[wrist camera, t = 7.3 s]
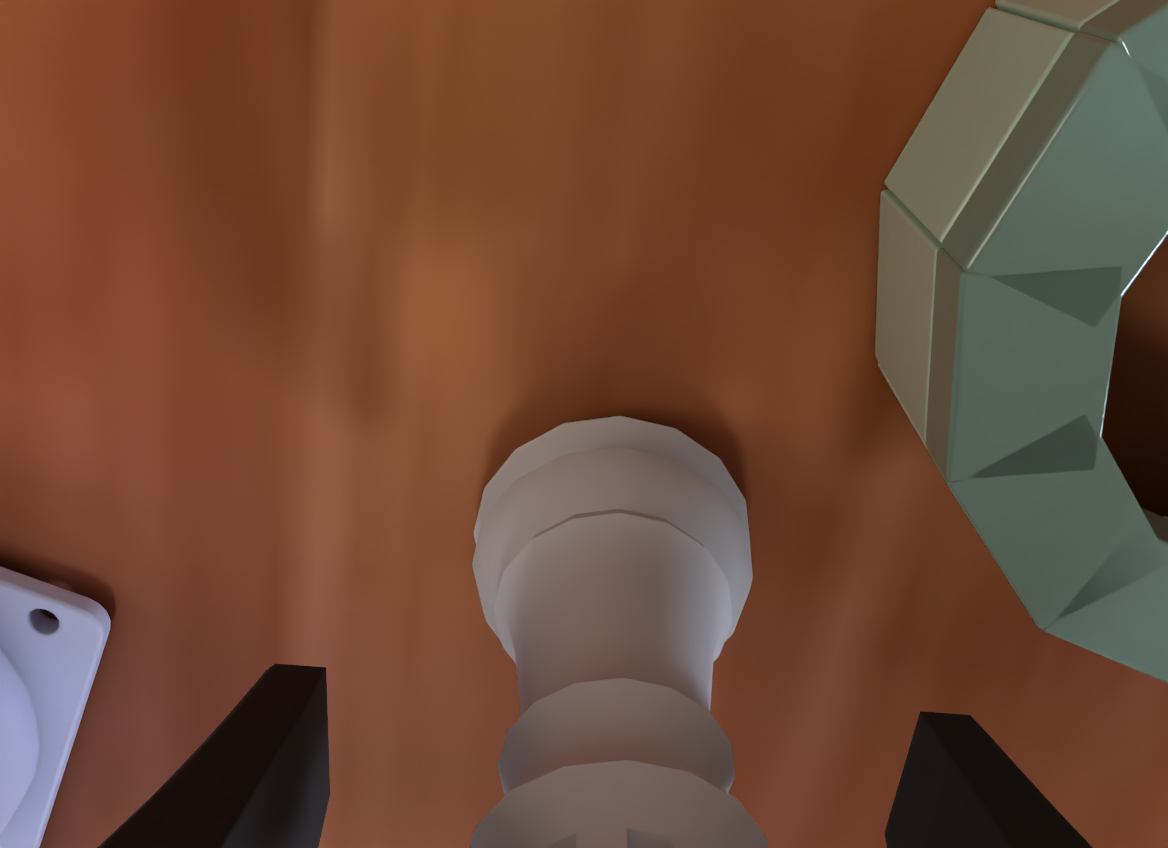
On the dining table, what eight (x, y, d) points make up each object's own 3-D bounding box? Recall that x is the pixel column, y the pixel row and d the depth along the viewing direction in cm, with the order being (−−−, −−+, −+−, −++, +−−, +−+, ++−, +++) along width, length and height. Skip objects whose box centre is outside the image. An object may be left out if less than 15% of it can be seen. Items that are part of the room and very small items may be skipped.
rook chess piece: (732, 638, 19) (814, 1105, 11) (476, 626, 19) (399, 1087, 11) (762, 408, 17) (886, 801, 9) (476, 395, 17) (382, 778, 9)
